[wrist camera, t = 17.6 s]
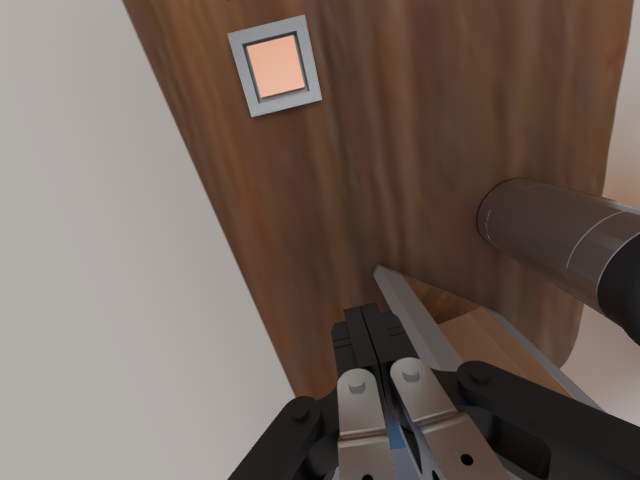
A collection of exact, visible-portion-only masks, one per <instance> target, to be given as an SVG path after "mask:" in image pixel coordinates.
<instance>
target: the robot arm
mask: <svg viewBox="0 0 640 480" xmlns="http://www.w3.org/2000/svg"><path fill="white" fill-rule="evenodd" d="M477 225H478V230H479V232H480V234H481V236H482V237H483V238H484V240H486V241H487V242H488V243H490V244H491V245H493V246H495V247H496V248H498V249H499V250H501V251H502V252H504V253H505V254H507V255H509V256H510V257H512V258H513V259H515V260H516V261H518V262H520V263H521V264H523V265H524V266H526V267H527V268H529V269H531V270H532V271H534V272H535V273H537V274H539V275H540V276H542V277H543V278H545V279H546V280H548V281H550V282H551V283H553V284H554V285H556V286H558V287H559V288H561V289H562V290H564V291H565V292H567V293H569V294H570V295H572V296H573V297H575V298H577V299H578V300H580V301H581V302H583V303H585V304H586V305H588V306H589V307H591V308H593V309H594V310H596V311H597V312H599V313H600V314H602V315H604V316H605V317H607V318H609V319H610V320H611V321H613V322H614V323H616V324H618V325H619V326H621V327H622V328H623V329H624V331H625V332H626V333H627V334H628V336H629V337H630V338H631V339H632V340H634V342H636V343H637V344H638V345H639V346H640V209H639V208H635V207H632V206H628V205H624V204H620V203H617V202H616V201H615V200H611V199H608V198H604V197H600V196H596V195H592V194H588V193H584V192H581V191H577V190H573V189H569V188H565V187H561V186H557V185H553V184H549V183H541V182H537V181H533V180H529V179H524V178H516V179H511V180H508V181H506V182H503V183H501V184H500V185H498V186H497V187H495V188H494V189H493V190H492V191H491V192H490V193H489V194H488V195H487V196H486V198H485V199H484V200H483V202H482V204H481V206H480V209H479V212H478V217H477ZM360 310H361V311H360ZM344 315H345V320H346V321H343V322H339V323H334V326H333V328H332V331H331V335H332V341H333V347H334V353H335V359H336V365H337V371H338V383H337V385H336V387H335V388H334V390H333V391H332V392H331V393H330V394H329V395H327V396H325V397H324V398H322V399H320V400H318V401H316V400H315V399H314V398H312V397H309V396H301V397H297V398H295V399H293V400H291V401H290V402H289V403H287V404H286V406H285V407H284V408H283V409H282V410H281V412H280V413H279V414H278V415H277V417H276V418H275V419H274V421H273V422H272V423H271V424H270V426H269V427H268V428H267V430H266V431H265V432H264V434H263V435H262V436H261V437H260V439H259V440H258V441H257V442H256V444H255V445H254V446H253V447H252V449H251V450H250V451H249V453H248V454H247V455H246V457H245V458H244V459H243V460H242V462H241V463H240V464H239V465H238V467H237V468H236V469H235V471H234V472H233V473H232V474H231V476H230V477H229V478H228V480H332V478H333V476H334V473H335V470H336V467H338V466H339V479H340V480H397V479H396V475H395V469H394V464H393V460H392V455H391V450H390V445H389V440H388V435H387V431H386V423H385V417H384V412H385V411H386V405H387V408H388V411H389V410H394V409H395V412H396V415H397V418H398V424H399V429H400V432H401V434H402V437H403V439H404V442H405V444H406V446H407V449H408V451H409V454H410V456H411V458H412V461H413V463H414V465H415V468H416V470H417V472H418V475H419V477H420V480H512V478H511V477H510V475H509V474H508V472H507V471H506V470H508V471H509V472H511V473H512V474H514V475H516V476H517V477H519V478H520V479H522V480H640V427H638V426H636V425H634V424H631V423H629V422H627V421H624V420H622V419H619V418H617V417H615V416H612V415H610V414H608V413H605V412H603V411H601V410H598V409H596V408H593V407H591V406H589V405H586V404H584V403H582V402H579V401H577V400H574V399H572V398H570V397H567V396H565V395H563V394H560V393H558V392H555V391H553V390H551V389H548V388H546V387H544V386H541V385H539V384H537V383H534V382H532V381H529V380H527V379H525V378H522V377H520V376H518V375H515V374H513V373H510V372H508V371H506V370H503V369H501V368H499V367H496V366H494V365H491V364H489V363H486V362H483V361H477V360H473V361H467V362H464V363H463V364H461V365H460V366H459V367H458V369H457V372H453V371H440V370H436V369H433V368H430V367H429V366H428V365H427V364H426V363H425V362H423V361H422V360H420V358H419V356H418V354H417V352H416V350H415V348H414V346H413V344H412V342H411V340H410V339H409V337H408V335H407V333H406V331H405V329H404V327H403V325H402V323H401V321H400V319H399V317H398V316H396V315H395V314H393V313H392V312H391V311H389V312H384V313H380V310H379V308H378V306H377V304H376V303H372V304H367V305H362V306H360V308H359V306H358V307H354V308H349V309H344ZM385 402H386V405H385Z"/></svg>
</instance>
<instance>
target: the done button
mask: <svg viewBox="0 0 640 480" xmlns="http://www.w3.org/2000/svg"><path fill="white" fill-rule="evenodd" d="M247 49H248V53H249V56H250V60H251V64H252V67H253V71H254V75H255V78H256V82H257V86H258V89H259V93H260V97H261V98H262V99H266V98H270V97H274V96H278V95H282V94H286V93H290V92H294V91H298V90H302V89H304V87H305V85H304V81H303V76H302V72H301V67H300V63H299V58H298V54H297V49H296V45H295V40H294V36H293V35H291V36H287V37H283V38H279V39H275V40H271V41H267V42H263V43H259V44H255V45H251V46H247Z"/></svg>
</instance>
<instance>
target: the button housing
mask: <svg viewBox="0 0 640 480" xmlns="http://www.w3.org/2000/svg"><path fill="white" fill-rule="evenodd" d="M227 35H228V38H229V41H230V45H231V48H232V52H233V55H234V59H235V62H236V65H237V69H238V72H239V76H240V79H241V83H242V86H243V90H244V93H245V96H246V100H247V103H248V107H249V110H250V114H251V117H258V116H262V115H266V114H270V113H274V112H278V111H282V110H286V109H291V108H295V107H299V106H303V105H307V104H311V103H315V102H319V101H321V100H322V97H321V92H320V87H319V82H318V77H317V72H316V67H315V63H314V58H313V53H312V48H311V43H310V38H309V33H308V29H307V24H306V19H305V15H301V16H297V17H293V18H289V19H285V20H281V21H277V22H273V23H269V24H265V25H261V26H257V27H253V28H249V29H244V30H240V31H236V32H232V33H228V34H227ZM291 35H293V36H294V40H295V45H296V49H297V54H298V58H299V63H300V67H301V72H302V76H303V81H304V85H305V87H304V89H302V90H298V91H294V92H290V93H286V94H282V95H278V96H274V97H270V98H266V99H262V98H261V97H260V93H259V89H258V86H257V82H256V78H255V75H254V71H253V67H252V64H251V60H250V56H249V53H248V49H247V46H251V45H255V44H259V43H263V42H267V41H271V40H275V39H279V38H283V37H287V36H291Z"/></svg>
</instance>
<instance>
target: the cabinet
mask: <svg viewBox="0 0 640 480" xmlns="http://www.w3.org/2000/svg"><path fill="white" fill-rule="evenodd" d="M372 274H373V276H374V278H375V280H376V282H377V284H378V286H379V288H380V290H381V291H382V293H383V295H384V297H385V299H386V301H387V303H388V305H389V307H390V309H391V310H392V312H393V314H395V315H396V316H398V317H399V319H400V321H401V323H402V325H403V327H404V329H405V331H406V333H407V335H408V337H409V339H410V340H411V342H412V344H413V346H414V348H415V350H416V352H417V354H418V356H419V358H420V360H422V361H423V362H425V363H426V364H427V365H428V366H429V367H430V368H433V369H436V370H440V371H453V372H457V369H458V367H459V366H460V365H461V364H463V363H464V362H467V361H473V360H477V361H483V362H486V363H489V364H491V365H494V366H496V367H499V368H501V369H503V370H506V371H508V372H510V373H513V374H515V375H518V376H520V377H522V378H525V379H527V380H529V381H532V382H534V383H537V384H539V385H541V386H544V387H546V388H548V389H551V390H553V391H555V392H558V393H560V394H563V395H565V396H567V397H570V398H572V399H574V400H577V401H579V402H582V403H584V404H586V405H589V406H591V407H593V408H596V409H598V410H601V411H603V412H605V411H604V410H602V409H601V408H600V407H599V406H598V405H597V404H596V403H595V402H594V401H593V400H592V399H591V398H589V397H588V396H587V395H586V394H585V393H584V392H583V391H582V390H581V389H580V388H579V387H578V386H577V385H576V384H575V383H574V382H573V381H571V380H570V379H569V378H568V377H567V376H566V375H565V374H564V373H563V372H562V371H561V370H560V369H559V368H558V367H557V366H555V365H554V364H553V363H552V362H551V361H550V360H549V359H548V358H547V357H546V356H545V355H544V354H543V353H542V352H540V351H539V350H538V349H537V348H536V347H535V346H534V345H533V344H532V343H531V342H530V341H529V340H528V339H527V338H526V337H524V336H523V335H522V334H521V333H520V332H519V331H518V330H517V329H516V328H515V327H514V326H513V325H512V324H511V323H509V322H508V321H507V320H506V319H505V318H504V317H503V316H502V315H501V314H500V313H499V312H497V311H495V310H492V309H490V308H487V307H485V306H482V305H480V304H477V303H475V302H472V301H470V300H467V299H465V298H462V297H460V296H457V295H455V294H452V293H450V292H447V291H445V290H442V289H440V288H437V287H435V286H432V285H430V284H427V283H425V282H422V281H420V280H417V279H415V278H412V277H410V276H407V275H405V274H403V273H400V272H398V271H395V270H393V269H390V268H388V267H385V266H383V265H380V264H377V265H376V267H375V269H374V271H373V272H372ZM605 413H606V412H605ZM506 471H507V472H508V474H509V475H510V477H511V478H512V480H522V479H520V478H519V477H517V476H516V475H514V474H512V473H511V472H509V471H508V470H506Z"/></svg>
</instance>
